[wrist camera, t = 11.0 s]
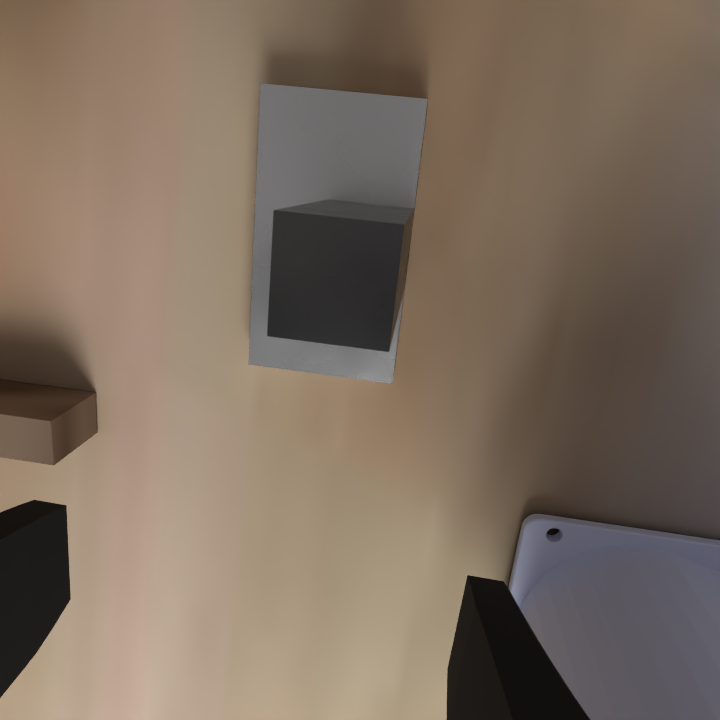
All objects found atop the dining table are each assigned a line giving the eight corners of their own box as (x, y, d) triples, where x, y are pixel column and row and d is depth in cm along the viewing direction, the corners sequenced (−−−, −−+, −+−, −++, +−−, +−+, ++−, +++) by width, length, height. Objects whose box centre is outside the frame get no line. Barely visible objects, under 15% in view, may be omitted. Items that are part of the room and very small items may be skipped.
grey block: (427, 103, 16) (425, 50, 9) (394, 373, 19) (373, 481, 12) (270, 88, 16) (161, 27, 10) (257, 355, 19) (164, 450, 12)
